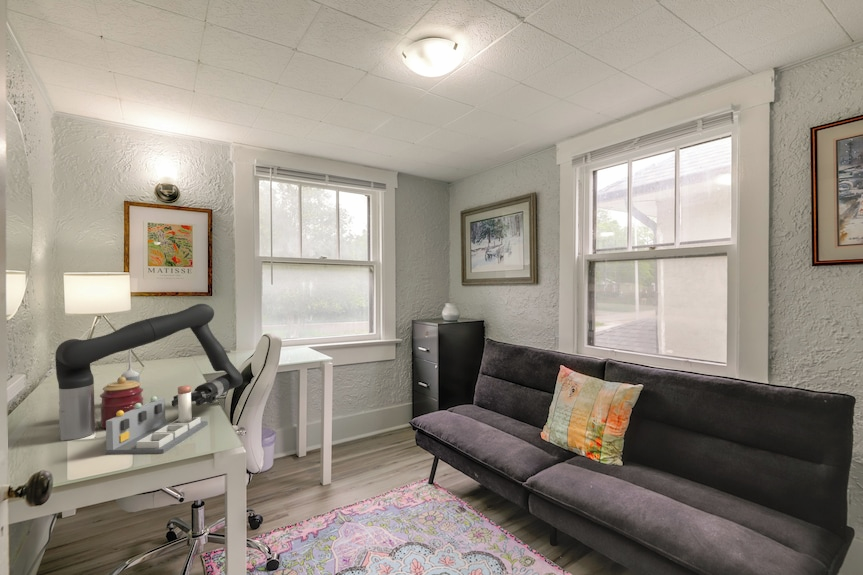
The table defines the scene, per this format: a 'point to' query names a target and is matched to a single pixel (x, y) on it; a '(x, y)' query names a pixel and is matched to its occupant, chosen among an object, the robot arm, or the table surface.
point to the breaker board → (147, 430)
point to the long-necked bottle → (131, 371)
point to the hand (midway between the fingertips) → (184, 403)
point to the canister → (119, 398)
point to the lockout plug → (184, 404)
